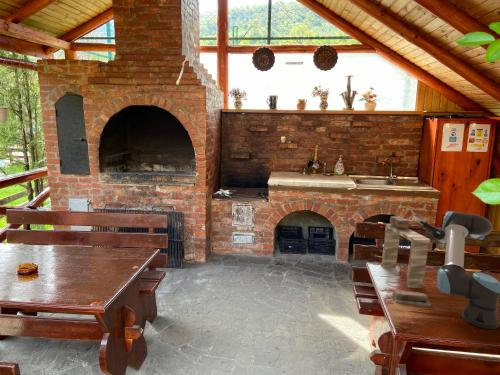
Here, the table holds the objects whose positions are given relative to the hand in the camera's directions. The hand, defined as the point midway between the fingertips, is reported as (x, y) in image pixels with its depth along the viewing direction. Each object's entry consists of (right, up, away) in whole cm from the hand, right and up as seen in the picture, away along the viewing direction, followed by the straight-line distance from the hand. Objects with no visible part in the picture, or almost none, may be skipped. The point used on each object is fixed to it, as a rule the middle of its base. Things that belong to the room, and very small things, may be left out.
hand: (414, 218), depth 224 cm
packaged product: (-18, -43, -34) cm, 58 cm away
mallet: (-3, -5, 0) cm, 6 cm away
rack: (-11, -37, -3) cm, 38 cm away
